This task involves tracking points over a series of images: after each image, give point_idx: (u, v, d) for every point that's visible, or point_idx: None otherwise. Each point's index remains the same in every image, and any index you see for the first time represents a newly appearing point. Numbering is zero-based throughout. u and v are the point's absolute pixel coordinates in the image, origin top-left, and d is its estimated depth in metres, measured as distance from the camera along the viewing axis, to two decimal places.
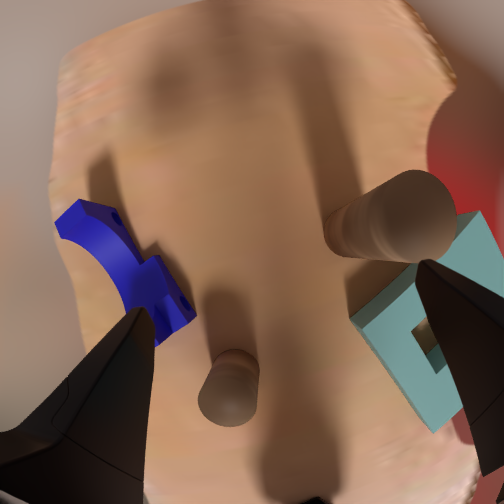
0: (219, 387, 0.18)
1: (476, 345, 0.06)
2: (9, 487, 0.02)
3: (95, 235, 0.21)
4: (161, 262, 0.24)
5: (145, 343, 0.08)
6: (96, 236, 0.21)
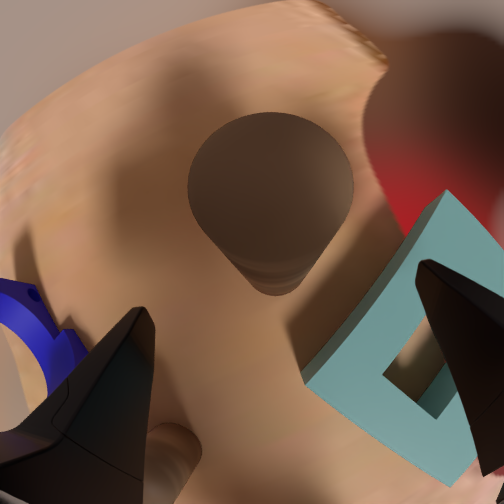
0: None
1: (476, 345, 0.06)
2: (9, 487, 0.02)
3: (10, 311, 0.17)
4: (74, 336, 0.19)
5: (145, 343, 0.08)
6: (11, 312, 0.17)
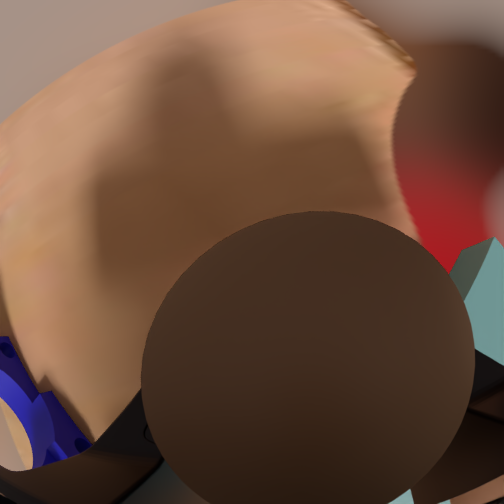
0: None
1: None
2: None
3: None
4: (53, 400, 0.15)
5: None
6: None
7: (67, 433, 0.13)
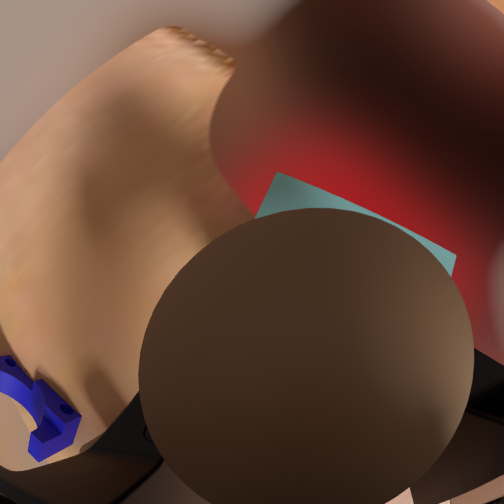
0: None
1: None
2: None
3: None
4: (43, 384, 0.21)
5: None
6: None
7: (54, 401, 0.20)
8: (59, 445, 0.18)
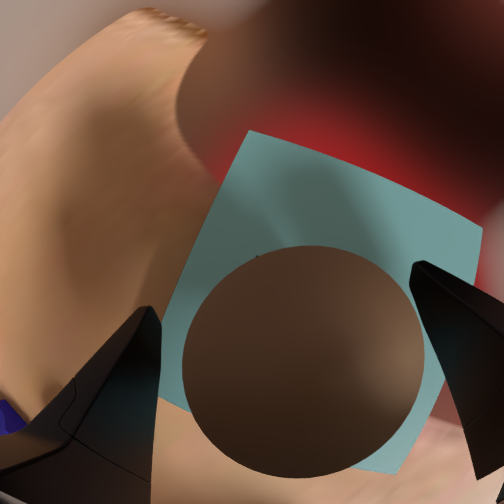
0: None
1: (469, 348, 0.06)
2: (18, 492, 0.02)
3: None
4: (5, 405, 0.16)
5: (152, 342, 0.08)
6: None
7: (15, 424, 0.15)
8: None
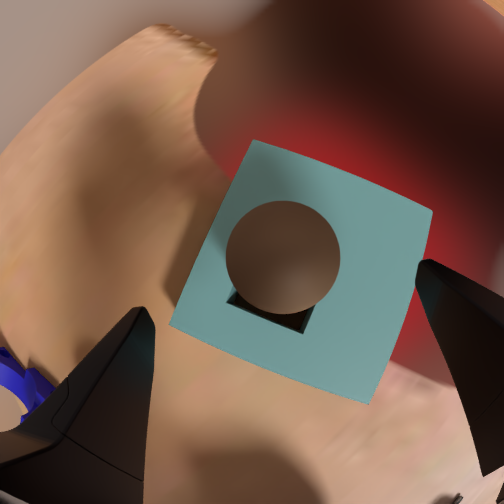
0: None
1: (475, 345, 0.06)
2: (9, 487, 0.02)
3: None
4: (35, 372, 0.22)
5: (145, 343, 0.08)
6: None
7: (45, 388, 0.21)
8: None
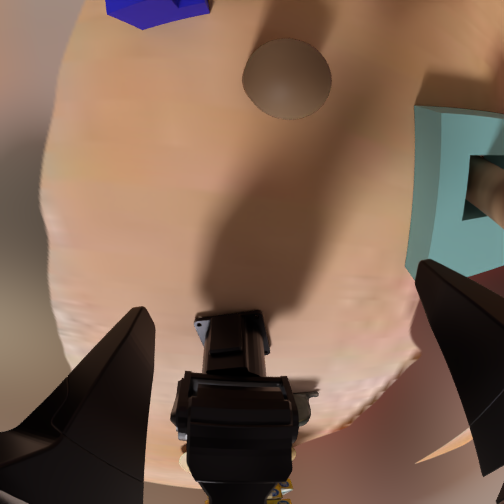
0: (294, 51, 0.11)
1: (476, 345, 0.06)
2: (10, 487, 0.02)
3: None
4: None
5: (145, 343, 0.08)
6: None
7: None
8: (147, 16, 0.11)
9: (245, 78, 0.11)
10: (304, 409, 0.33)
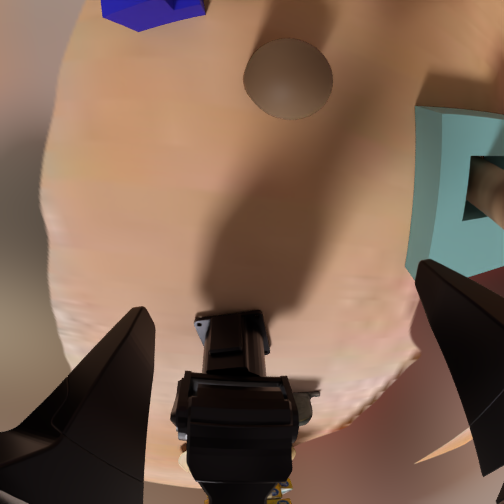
0: (295, 51, 0.11)
1: (475, 345, 0.06)
2: (9, 487, 0.02)
3: None
4: None
5: (145, 343, 0.08)
6: None
7: None
8: (143, 19, 0.11)
9: (246, 78, 0.11)
10: (307, 409, 0.33)
